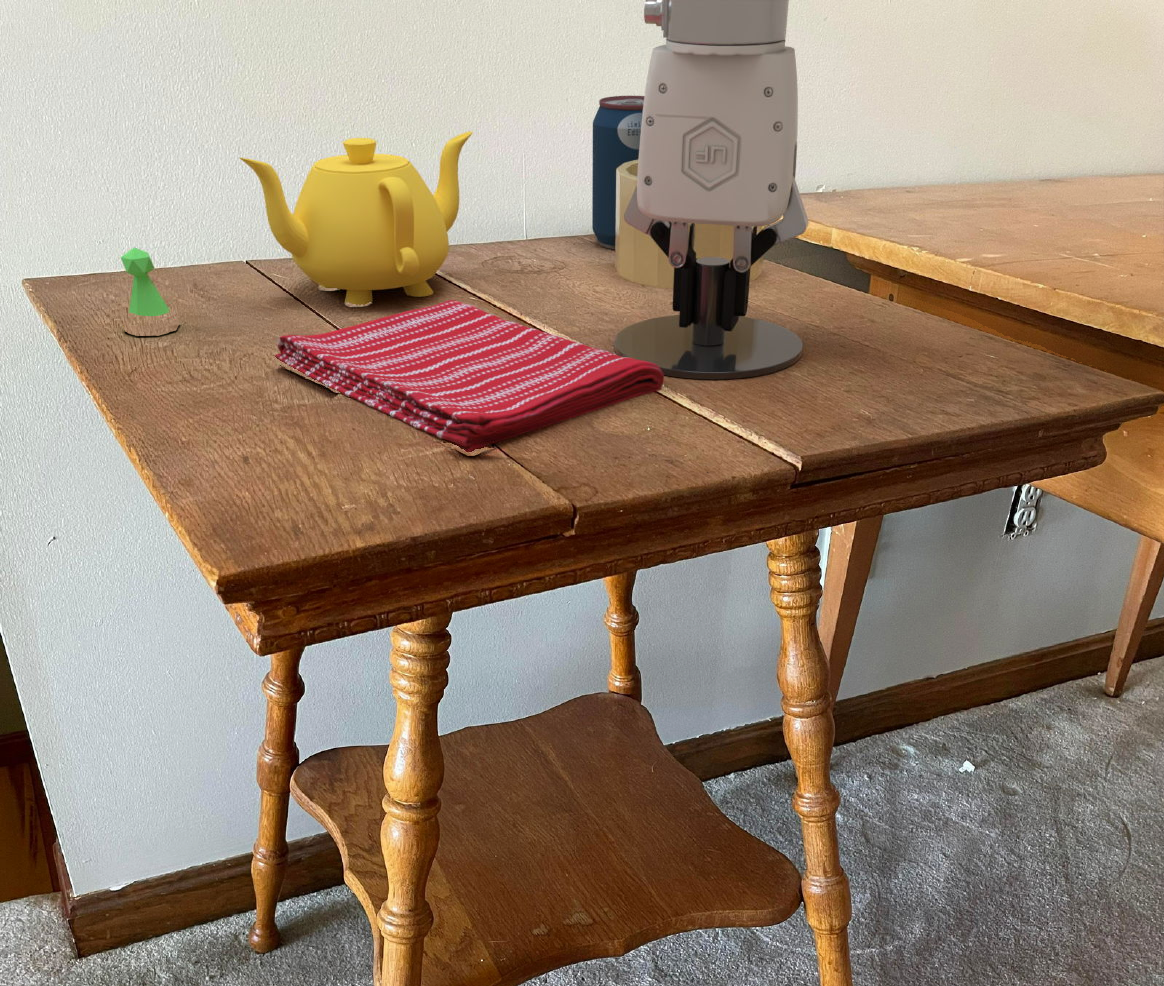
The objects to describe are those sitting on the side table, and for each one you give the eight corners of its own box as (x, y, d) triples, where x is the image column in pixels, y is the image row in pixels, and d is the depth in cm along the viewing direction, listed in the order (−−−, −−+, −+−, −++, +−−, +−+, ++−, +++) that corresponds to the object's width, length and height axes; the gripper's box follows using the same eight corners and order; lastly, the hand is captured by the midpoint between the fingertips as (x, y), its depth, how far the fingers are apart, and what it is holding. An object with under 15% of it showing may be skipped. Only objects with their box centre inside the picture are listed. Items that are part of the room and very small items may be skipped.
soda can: (660, 253, 111) (664, 106, 103) (586, 250, 112) (586, 104, 104) (668, 235, 116) (674, 95, 109) (598, 232, 117) (599, 93, 110)
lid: (813, 336, 91) (823, 243, 87) (786, 396, 80) (796, 294, 76) (639, 322, 94) (641, 232, 90) (592, 378, 83) (592, 279, 79)
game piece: (186, 332, 92) (170, 249, 89) (129, 340, 91) (110, 257, 87) (174, 317, 95) (158, 237, 92) (119, 325, 94) (100, 244, 90)
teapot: (302, 335, 92) (278, 170, 85) (235, 290, 101) (209, 139, 95) (526, 294, 100) (521, 141, 93) (444, 256, 110) (434, 116, 103)
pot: (771, 262, 108) (780, 158, 103) (746, 301, 98) (755, 188, 93) (636, 253, 111) (638, 151, 106) (599, 290, 101) (599, 180, 96)
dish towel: (474, 465, 71) (472, 421, 70) (269, 369, 85) (263, 331, 84) (674, 396, 80) (675, 356, 79) (459, 320, 94) (457, 285, 93)
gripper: (586, 25, 74) (587, 330, 85) (849, 31, 70) (814, 349, 81) (617, 14, 79) (614, 301, 90) (863, 19, 76) (828, 317, 87)
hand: (709, 321), depth 86 cm, fingers closed on lid, 2 cm apart
